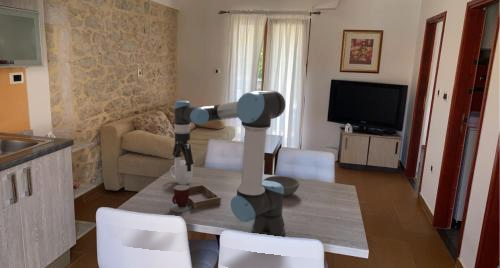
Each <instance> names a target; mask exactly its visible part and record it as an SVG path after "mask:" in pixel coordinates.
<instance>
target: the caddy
mask: <svg viewBox="0 0 500 268" xmlns="http://www.w3.org/2000/svg"><path fill="white" fill-rule="evenodd" d="M189 187H190V193H189V195H190V194H191V195H192V194H197V193H204V194H205V195H206V196H208V197H209V198H208V199H203V200H198V201H195V200H194V199H193V198H192V197H191V196H189V198H188V202H187V204H189V205H190V208H192V209H193V210H201V209H205V208H210V207H214V206H220V205H221V204H222V203H221V202H222V201H221V200H222V197H221V196H220V195H219V194H217V193H215V191H213V190H211V189H210V188H209V187H207V186H206V185H205V184H198V185H192V186H189Z"/></svg>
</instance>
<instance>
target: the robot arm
mask: <svg viewBox="0 0 500 268" xmlns="http://www.w3.org/2000/svg"><path fill="white" fill-rule="evenodd" d="M285 109H286V99H285V98H284V96H283V94H282V93H280V92H279V91H276V90H254V91H249V92H246V93H244V94H243V95H241V96H240V97H239V99H238V101H233V102H226V103H221V104H215V105H214V104H213V105H205V106H191V102H190V101H189V100H175V102H174V109H173V110H174V111H173V112H174V115H173V116H174V147H173V151H172V155H173V157H174V164H175V170H180V160H181V153H182V154H183V157H184V160H185V162H186V164H185V177H186V178H188V177H191V165H192V164H193V165H194V160H193V159H194V158H193V154H192V149H191V144H190V143H188V142H189V141H190V140H191V132H190V131H191V126H192V125H191V123H192V124H195V125H205V124H206V123H208V122H213V121H214V122H216V121H222V120H223V121H224V120H230V119H239V120H240V121H241V126H242V127H243V128H244V139H243V152H242V164H241V165H242V169H241V179H240V180H241V181H240V184H239V185H238V186H237V189H236V195H234V196H233V197H232V198H231V200H230V210H231V212H232V214H233V215H234V217H235V218H236V219H237V220H238V221H240V222H244V223H248V222H251V221H253V222H252V228H251V230H252V233H253V234H254V233H259V234H267V235H274V236H281V237H282V236H284V234H285V233H286V225H285V221H284V218H283V211H284V210H283V208H284V207H283V206H284V196H283V195H284V188H283V186H282V185H281V184H280V183H277V182H273V181H263V175H264V174H263V173H264V163H265V151H266V150H265V149H266V141H267V140H266V139H267V130H268V129H270V128H271V124H272V120H273V119H276V118H279V117H280V116H281V115H282V114H283V113H284V112H285Z"/></svg>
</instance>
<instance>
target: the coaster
mask: <svg viewBox="0 0 500 268" xmlns="http://www.w3.org/2000/svg"><path fill="white" fill-rule="evenodd" d="M190 209H191V206H190V205H189V204H188V203H187V204H186V206H185V207H178V205H177V204H174V203H173V204H172V205H171V206H170V210H171V211H172V212H173V213H185V212H188V211H190Z"/></svg>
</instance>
